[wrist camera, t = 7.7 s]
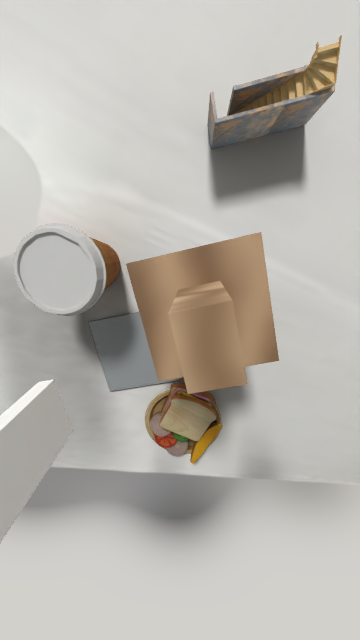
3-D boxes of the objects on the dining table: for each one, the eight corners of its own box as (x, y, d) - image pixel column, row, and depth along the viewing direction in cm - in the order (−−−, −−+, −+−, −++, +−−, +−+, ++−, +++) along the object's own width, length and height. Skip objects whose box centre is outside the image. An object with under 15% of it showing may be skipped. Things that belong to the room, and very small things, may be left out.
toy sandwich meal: (133, 425, 45) (126, 445, 41) (174, 366, 42) (171, 381, 37) (193, 459, 46) (193, 483, 42) (238, 405, 43) (243, 424, 38)
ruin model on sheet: (301, 97, 31) (345, 33, 22) (303, 126, 32) (347, 77, 22) (206, 123, 32) (210, 73, 23) (211, 150, 33) (216, 113, 24)
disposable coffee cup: (144, 273, 37) (120, 285, 26) (94, 308, 39) (52, 335, 28) (103, 215, 36) (57, 200, 24) (53, 255, 38) (-11, 260, 26)
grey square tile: (110, 390, 43) (110, 391, 43) (89, 321, 40) (88, 322, 40) (181, 378, 42) (181, 379, 41) (164, 307, 39) (164, 307, 38)
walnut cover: (160, 375, 25) (140, 444, 17) (129, 263, 23) (86, 274, 14) (274, 355, 24) (319, 418, 15) (257, 232, 21) (300, 224, 12)
